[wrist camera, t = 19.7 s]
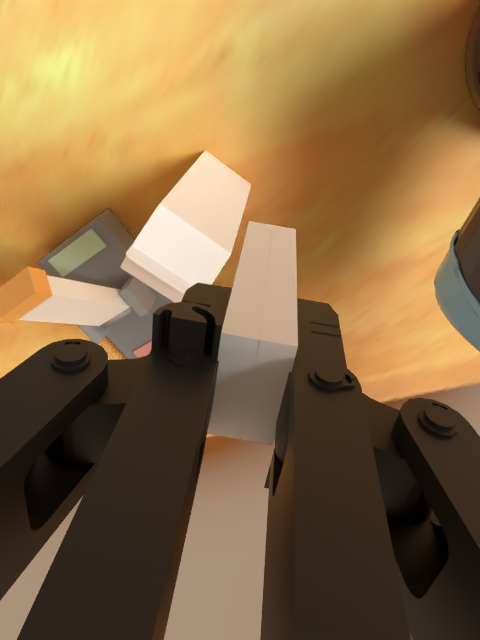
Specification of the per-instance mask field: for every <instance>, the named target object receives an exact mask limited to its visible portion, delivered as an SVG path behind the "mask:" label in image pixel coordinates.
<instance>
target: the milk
mask: <svg viewBox="0 0 480 640" xmlns="http://www.w3.org/2000/svg"><path fill="white" fill-rule="evenodd" d="M250 188H251V184H250V183H249V182H247V181H246V180H245V179H243V178H242V177H241V176H239V175H238V174H237V173H235V172H234V171H233V170H231V169H230V168H229V167H227V166H226V165H224V164H223V163H222V162H220V161H219V160H218V159H216V158H215V157H214V156H212V155H211V154H210V153H208V152H207V151H204V152H203V153H202V154H201V155H200V157H199V158H198V159H197V160H196V161H195V163H194V164H193V165H192V166H191V167H190V168H189V170H188V171H187V172H186V173H185V174H184V175H183V177H182V178H181V179H180V180H179V181H178V182H177V184H176V185H175V186H174V187H173V188H172V190H171V191H170V192H169V193H168V194H167V195H166V197H165V198H164V199H163V200H162V201H161V202H160V204H159V205H158V206H157V208H156V209H155V211H154V212H153V214H152V215H151V217H150V218H149V220H148V221H147V223H146V224H145V226H144V227H143V229H142V230H141V232H140V233H139V235H138V237H137V238H136V240H135V241H134V243H133V244H132V246H131V247H130V248H129V249H128V251H127V252H126V257H125V259H124V261H123V263H122V264H121V266H120V267H121V268H122V269H123V270H125V271H126V272H128V273H129V274H131V275H132V276H134V277H136V278H137V279H139V280H140V281H142V282H143V283H145V284H146V285H148V286H150V287H151V288H153V289H154V290H156V291H157V292H159V293H161V294H162V295H164V296H165V297H167V298H168V299H170V300H171V301H173V302H175V303H176V302H181V301H182V298H183V296H184V294H185V291H186V290H187V289H188V288H190V287H191V286H193V285H194V284H196V283H204V284H210V285H212V283H213V282H214V280H215V279H216V277H217V275H218V274H219V272H220V271H221V269H222V268H223V266H224V265H225V263H226V262H227V260H228V259H229V257H230V255H231V253H232V249H233V246H234V242H235V239H236V236H237V232H238V229H239V226H240V222H241V219H242V215H243V212H244V209H245V205H246V202H247V199H248V195H249V192H250Z"/></svg>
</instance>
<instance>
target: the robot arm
mask: <svg viewBox="0 0 480 640" xmlns="http://www.w3.org/2000/svg"><path fill="white" fill-rule="evenodd" d="M465 70H466V78H467V83H468V87H469V90H470V93H471V95H472V98H473V100H474V101H475V103H476V105H477V106H478V108H479V109H480V7H479V9H478V11H477V13H476V15H475V18H474V20H473V23H472V26H471V29H470V33H469V37H468V41H467V47H466V56H465ZM434 285H435V291H436V292H435V295H436V299H437V302H438V304H439V306H440V308H441V310H442V312H443V313H444V315H445V316H446V318H447V319H448V321H449V322H450V323H451V324H452V325H453V327H454V328H455V329H456V330H457V331H458V332H459V333H460V334H461V335H462V336H463V337H464V338H465V339H466V340H467V341H468V342H469V343H470V344H471V345H473V346H474V347H475V348H476V349H477V350H479V351H480V198H479V199H478V201H477V203H476V204H475V206H474V207H473V209H472V211H471V212H470V214H469V216H468V217H467V219H466V221H465V222H464V224H463V225H462V227H461V229H460V230H458V231H456V233H455V234H454V236H453V237H452V240H451V243H450V249H449V251H448V252H447V254H446V256H445V258H444V260H443V262H442V263H441V265H440V267H439V269H438V271H437V273H436V276H435V280H434ZM339 328H340V325H339V319H338V315H337V314H336V312H335V311H334V310H333V309H332V308H331V306H330V305H329V304H326V303H321V302H315V301H309V300H303V299H298V298H297V266H296V229H293V228H287V227H281V226H275V225H270V224H264V223H258V222H252V221H249V223H248V227H247V231H246V235H245V239H244V243H243V247H242V251H241V255H240V259H239V263H238V267H237V271H236V275H235V279H234V283H233V287H232V288H227V287H221V286H215V285H210V284H204V283H196V284H194V285H193V286H191V287H190V288H188V289H187V290H186V291H185V294H184V296H183V298H182V301H181V302H176V303H169V304H166V305H164V306H162V307H159V308H158V309H157V310H156V311H155V312H154V313H153V325H152V346H151V351H150V353H149V354H148V355H146V356H143V357H139V358H133V359H121V360H108V354H107V353H106V351H105V350H104V349H103V347H101V346H100V345H98V344H96V343H94V342H91V341H86V340H81V339H67V340H62V341H58V342H54V343H51V344H49V345H47V346H45V347H43V348H42V349H40V350H39V351H37V352H36V353H35V354H33V355H32V356H31V357H29V358H28V359H26V360H25V361H24V362H22V363H21V364H20V365H18V366H17V367H16V368H14V369H13V370H12V371H10V372H9V373H8V374H6V375H5V376H3V377H2V378H1V379H0V600H1V599H2V598H3V596H4V595H5V594H6V592H7V591H8V590H9V589H10V587H11V586H12V585H13V584H14V582H15V581H16V580H17V579H18V577H19V576H20V574H21V573H22V572H23V571H24V570H25V568H26V567H27V566H28V565H29V563H30V562H31V561H32V560H33V558H34V557H35V556H36V554H37V553H38V552H39V551H40V549H41V548H42V547H43V545H44V544H45V543H46V542H47V540H48V539H49V538H50V536H51V535H52V534H53V533H54V532H55V530H56V529H57V528H58V527H59V525H60V524H61V523H62V521H63V520H64V519H65V517H66V516H67V515H68V514H69V513H70V511H71V510H72V509H73V508H74V506H75V505H76V504H77V502H78V501H79V500H80V499H81V497H82V496H83V495H84V496H83V498H82V500H81V502H80V504H79V506H78V509H77V511H76V513H75V515H74V517H73V519H72V521H71V524H70V526H69V528H68V530H67V532H66V535H65V537H64V539H63V541H62V543H61V545H60V547H59V550H58V552H57V554H56V556H55V558H54V561H53V563H52V565H51V567H50V569H49V571H48V573H47V575H46V578H45V580H44V582H43V584H42V586H41V588H40V591H39V593H38V595H37V597H36V599H35V601H34V604H33V606H32V608H31V610H30V612H29V614H28V616H27V619H26V621H25V623H24V625H23V627H22V629H21V632H20V634H19V636H18V638H17V640H163V639H164V635H165V631H166V626H167V621H168V617H169V612H170V607H171V603H172V598H173V593H174V589H175V583H176V580H177V575H178V570H179V565H180V561H181V556H182V552H183V547H184V542H185V538H186V533H187V529H188V524H189V519H190V515H191V510H192V505H193V501H194V496H195V491H196V486H197V482H198V477H199V473H200V468H201V464H202V459H203V454H204V448H205V440H206V435H207V434H212V435H218V436H224V437H229V438H234V439H240V440H246V441H251V442H257V443H263V444H268V445H272V444H273V441H274V437H275V436H276V438H275V449H274V453H273V456H272V460H271V464H270V468H269V471H268V475H267V479H266V483H265V488H269V499H268V516H267V534H266V551H265V569H264V587H263V604H262V622H261V640H411V638H410V634H411V636H412V638H413V640H480V437H479V435H478V434H477V433H476V431H475V430H474V429H473V427H472V426H471V425H470V423H469V422H468V421H467V420H466V419H465V418H464V417H463V416H462V415H461V414H460V413H458V412H457V411H455V410H454V409H452V408H450V407H449V406H447V405H445V404H443V403H440V402H438V401H435V400H431V399H424V398H415V399H409V400H408V401H407V402H405V403H404V404H403V405H402V407H401V409H400V410H397V409H394V408H392V407H390V406H387V405H385V404H382V403H380V402H378V401H375V400H373V399H371V398H369V397H368V396H366V395H365V394H363V393H362V390H361V385H360V383H359V381H358V379H357V377H356V376H355V375H354V374H353V373H352V372H351V371H350V370H348V369H347V366H346V360H345V354H344V349H343V343H342V338H341V331H340V329H339ZM275 433H276V435H275ZM409 631H410V633H409Z"/></svg>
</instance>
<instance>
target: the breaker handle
mask: <svg viewBox="0 0 480 640" xmlns="http://www.w3.org/2000/svg"><path fill="white" fill-rule="evenodd" d="M119 292H120V289H115V288H110V287H104V286H99V285H94V284H89V283H84V282H79V281H74V280H69V279H63V278H58V277H53V276H48V275H46V272H45V270H42V269H37V268H32V267H26V268H25V269H24V270H22V271H21V272H20V273H18V274H17V275H16V276H14V277H13V278H12V279H11V280H9V281H8V282H7V283H5V284H4V285H3V286H1V287H0V323H11V324H13V323H14V322H15V321H17V320H28V321H41V322H53V323H65V324H77V325H90V326H99V327H101V328H106V327H108V326H110V325H111V324H113V323H115V322H116V321H118V320H119V319H121V318H123V317H124V316H126V315H128V314H129V313H131V312H132V311H134V310H133V308H132V307H131V306H130V305H129V304H128V303H127V302H126V301H125V299H124V298H123V297H122V296H121V295H120V294H119Z"/></svg>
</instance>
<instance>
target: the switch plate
mask: <svg viewBox="0 0 480 640" xmlns="http://www.w3.org/2000/svg"><path fill="white" fill-rule="evenodd" d="M134 241H135V240H134V239H133V238H132V236H131V235H130V234H129V233H128V231H127V230H126V229H125V228H124V227H123V225H122V224H121V223H120V222H119V220H118V219H117V218H116V217H115V216H114V214H113V213H112V212H111V211H110V209H109V208H108V209H107V210H105V211H104V212H103V213H101V214H100V215H99V216H97V217H96V218H95V219H93V220H92V221H91V222H89V223H88V224H87V225H85V226H84V227H83V228H81V229H80V230H79V231H77V232H76V233H75V234H73V235H72V236H71V237H70V238H68V239H67V240H66V241H64V242H63V243H62V244H60V245H59V246H58V247H56V248H55V249H54V250H52V251H51V252H50V253H48V254H47V255H46V256H45V257H44V258H42V259H41V260H40V261H39V262H38V264H39V265H40V266H41V267H42V269H43V270H45V272H46V273H47V274H48V275H49V276H53V277H58V278H63V279H69V280H74V281H79V282H84V283H89V284H94V285H99V286H104V287H110V288H115V289H120V292H119V294H120V295H121V296H122V297H123V298H124V299H125V301H126V302H127V303H128V304H129V305H130V306H131V307H132V308H133V310H134V311H132V312H131V313H129V314H128V315H126V316H124V317H123V318H121V319H119V320H118V321H116V322H115V323H113V324H111V325H110V326H108V327H106V328H101V327H99V326H90V325H78V326H79V327H80V328H81V330H82V331H83V332H84V333H85V334H86V335H87V336H88V337H89V338H90V339H91V340H92V341H93V342H94V343H96V344H97V343H99V342H101V341H102V340H103V339H104V338H105V336H107V337H108V339H109V340H110V341H111V342H112V343H113V344H114V345H115V346H116V347H117V348H118V349H119V350H120V351H121V352H122V353H123V354H124V355H125V357H126V358H127V359H133V358H139V357H143V356H146V355H148V354H149V353H150V351H151V346H152V325H153V313H154V312H155V311H156V310H157V309H158V308H159V307H162V306H164V305H166V304H169V303H175V302H173V301H171V300H170V299H168V298H167V297H165V296H164V295H162V294H161V293H159V292H157V291H156V290H154V289H153V288H151V287H150V286H148V285H146V284H145V283H143V282H142V281H140V280H139V279H137V278H136V277H134V276H132V275H131V274H129V273H128V272H126V271H125V270H123V269H122V268H121V267H120V266H121V264H122V263H123V261H124V259H125V257H126V252H127V251H128V249H129V248H130V247H131V246H132V244H133V243H134Z"/></svg>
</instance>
